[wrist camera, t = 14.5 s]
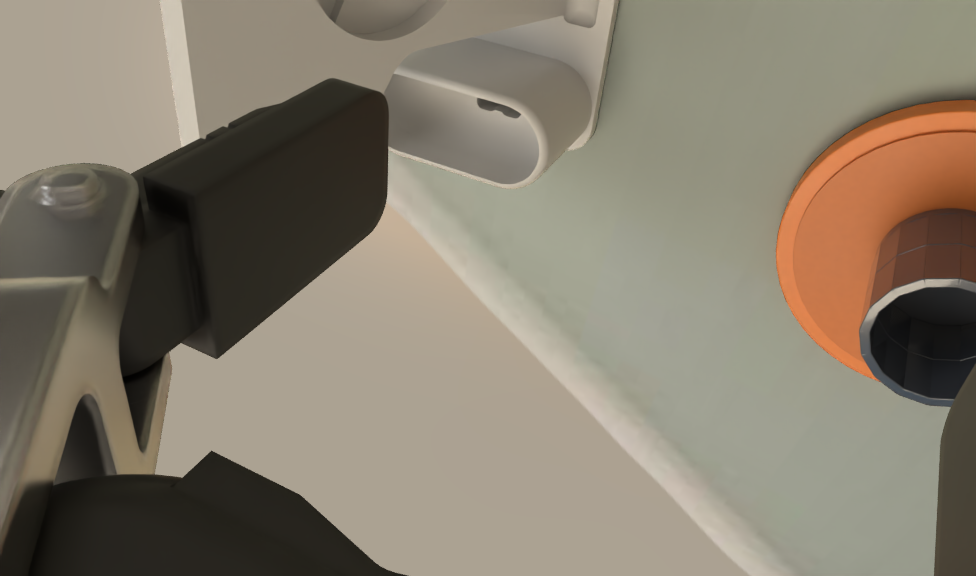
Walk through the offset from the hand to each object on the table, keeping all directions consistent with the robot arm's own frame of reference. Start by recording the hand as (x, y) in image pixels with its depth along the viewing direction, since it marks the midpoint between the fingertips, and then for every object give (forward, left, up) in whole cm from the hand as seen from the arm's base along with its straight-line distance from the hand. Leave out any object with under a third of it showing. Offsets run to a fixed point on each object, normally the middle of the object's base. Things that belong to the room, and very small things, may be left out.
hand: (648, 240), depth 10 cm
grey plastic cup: (+8, -13, -26) cm, 31 cm away
